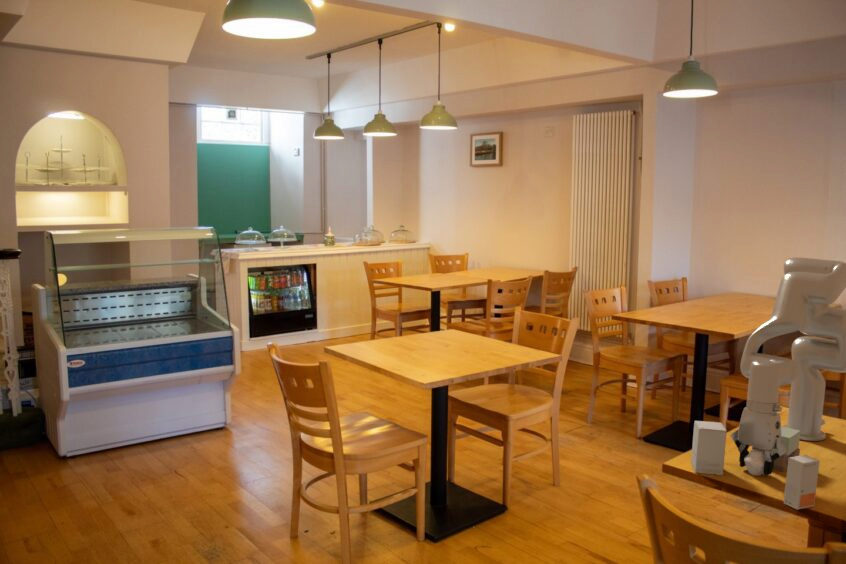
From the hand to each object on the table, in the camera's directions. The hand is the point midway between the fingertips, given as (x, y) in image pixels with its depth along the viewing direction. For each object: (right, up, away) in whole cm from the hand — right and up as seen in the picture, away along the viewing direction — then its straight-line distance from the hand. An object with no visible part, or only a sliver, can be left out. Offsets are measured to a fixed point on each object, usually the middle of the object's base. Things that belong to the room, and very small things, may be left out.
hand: (755, 469), depth 199 cm
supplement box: (-13, -1, +2) cm, 13 cm away
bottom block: (+9, -1, +8) cm, 12 cm away
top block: (+9, +4, +7) cm, 12 cm away
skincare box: (+2, -4, -19) cm, 20 cm away
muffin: (0, -1, 0) cm, 1 cm away
